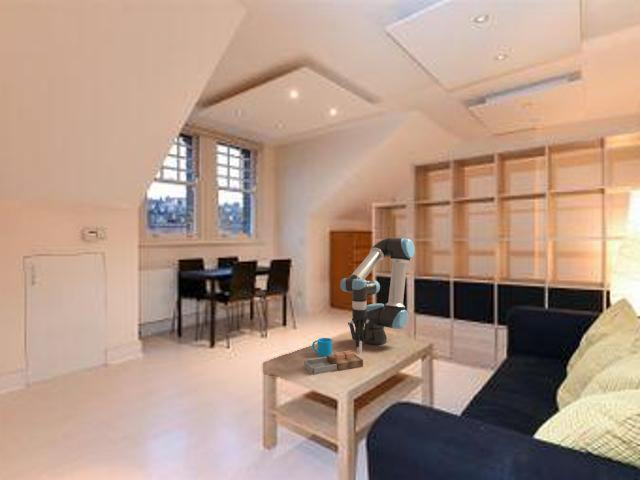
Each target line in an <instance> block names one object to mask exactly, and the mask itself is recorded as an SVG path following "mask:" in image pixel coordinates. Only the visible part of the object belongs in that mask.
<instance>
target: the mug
mask: <svg viewBox="0 0 640 480" xmlns="http://www.w3.org/2000/svg"><path fill="white" fill-rule="evenodd" d="M316 343H317V349H316V347H315V344H316ZM311 348H312V349H313V351H314V352H316V353H317V356H319V357H320V358H324V357H327V355H332V354H333V339H332V338H329V337H321V338H318V339H317V340H315V341H313V342H312V344H311Z"/></svg>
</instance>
